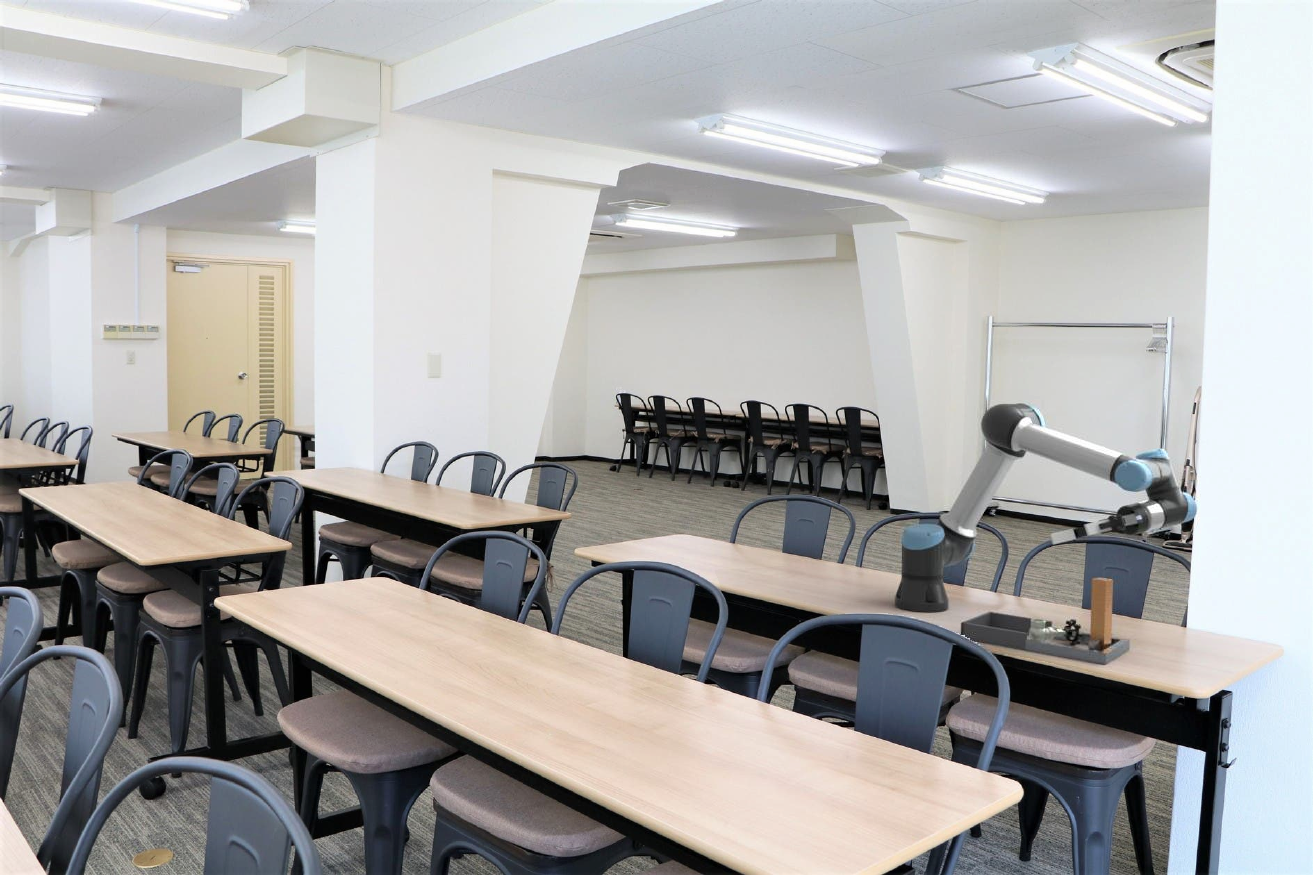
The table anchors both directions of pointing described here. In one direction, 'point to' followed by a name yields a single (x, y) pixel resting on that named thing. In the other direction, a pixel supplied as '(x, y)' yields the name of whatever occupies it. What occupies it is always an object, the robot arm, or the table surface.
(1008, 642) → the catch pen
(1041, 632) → the valve
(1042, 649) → the slot rails
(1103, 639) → the brown wooden block
